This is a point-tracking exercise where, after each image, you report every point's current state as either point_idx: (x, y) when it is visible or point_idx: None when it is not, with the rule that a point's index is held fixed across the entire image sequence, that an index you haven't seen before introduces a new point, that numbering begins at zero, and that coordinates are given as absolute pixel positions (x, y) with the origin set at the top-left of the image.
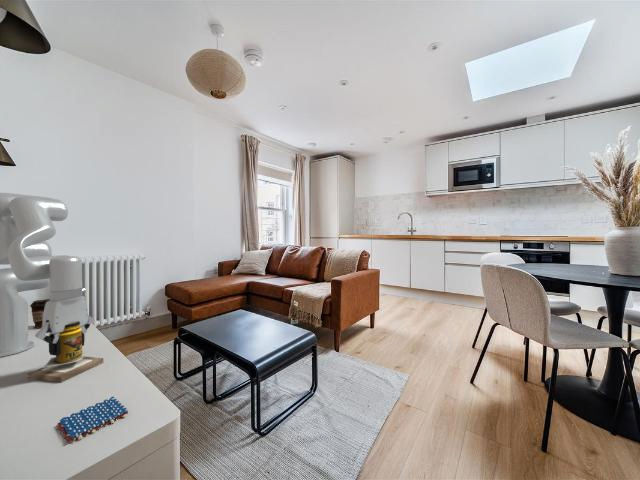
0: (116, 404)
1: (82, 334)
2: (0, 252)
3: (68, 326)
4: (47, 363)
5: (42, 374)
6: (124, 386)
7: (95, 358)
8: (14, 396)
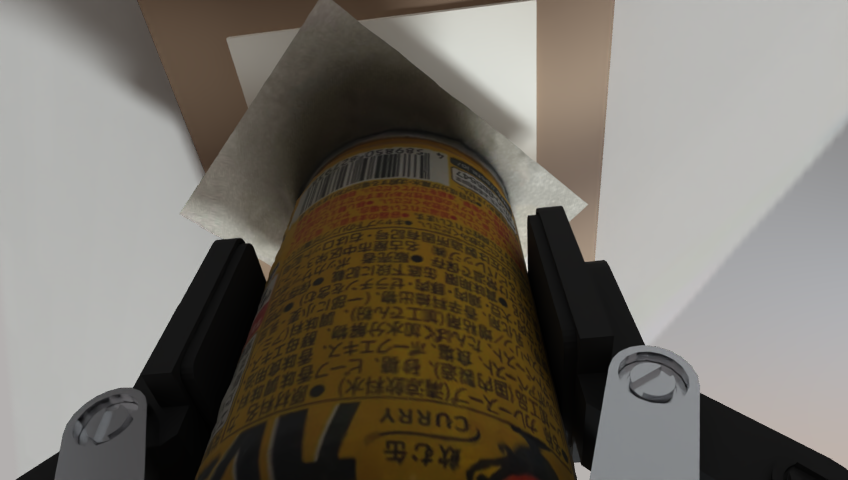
0: None
1: (575, 459)
2: None
3: None
4: (241, 129)
5: (205, 159)
6: None
7: None
8: (41, 235)
